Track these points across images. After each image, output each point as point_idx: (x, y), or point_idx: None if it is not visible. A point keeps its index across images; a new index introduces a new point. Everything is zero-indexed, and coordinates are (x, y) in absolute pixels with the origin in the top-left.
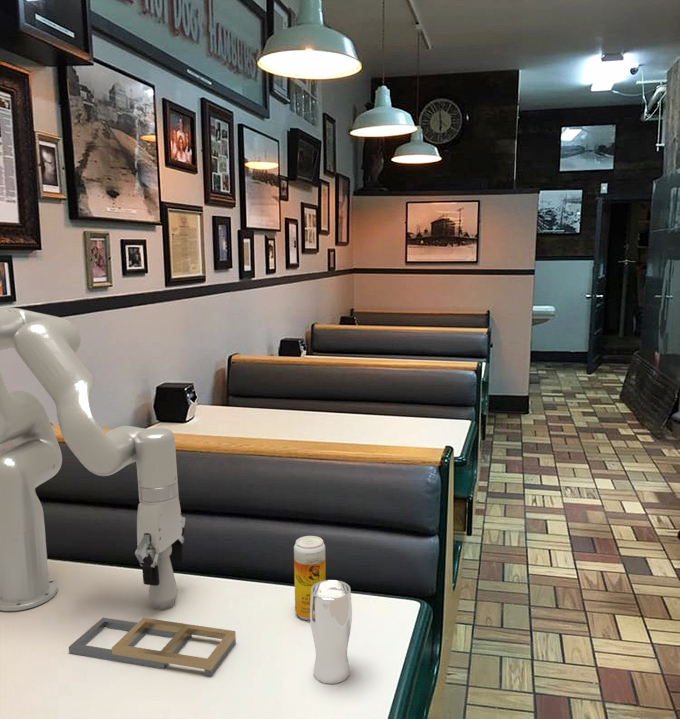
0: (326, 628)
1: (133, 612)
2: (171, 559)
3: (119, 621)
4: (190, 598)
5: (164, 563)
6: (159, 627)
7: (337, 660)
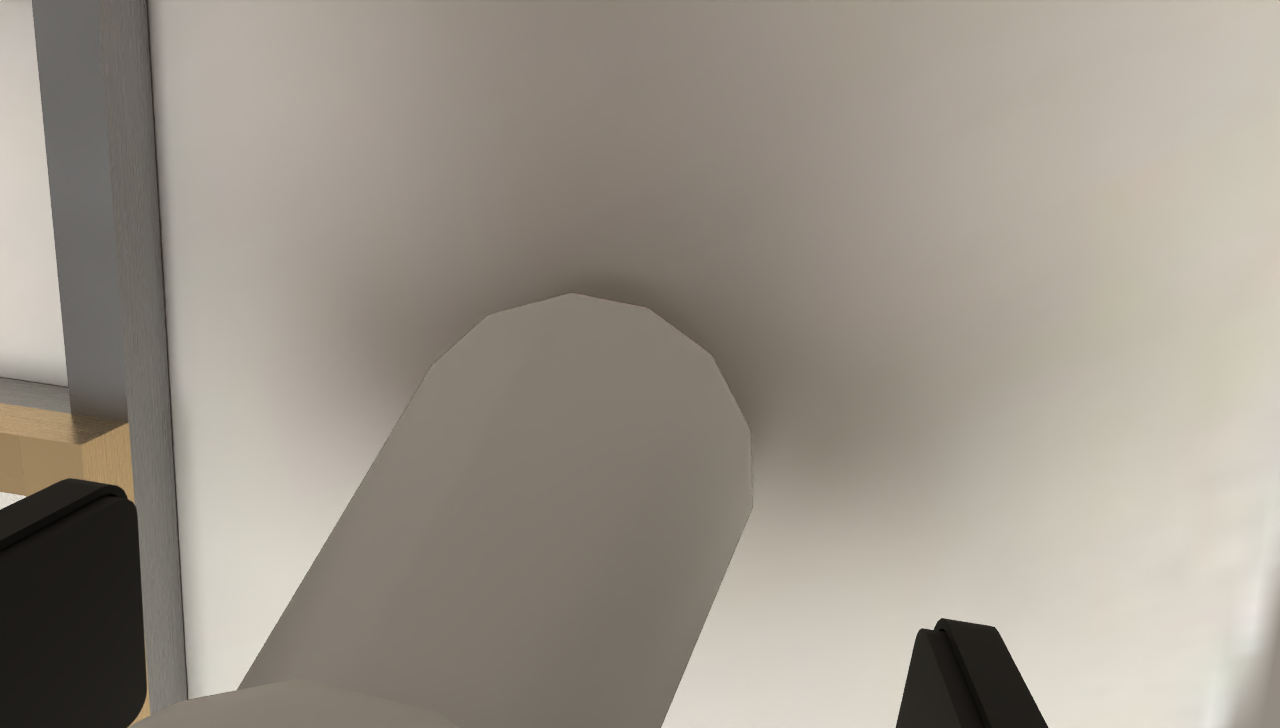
0: None
1: (408, 166)
2: (923, 699)
3: (86, 163)
4: (760, 630)
5: None
6: None
7: None
